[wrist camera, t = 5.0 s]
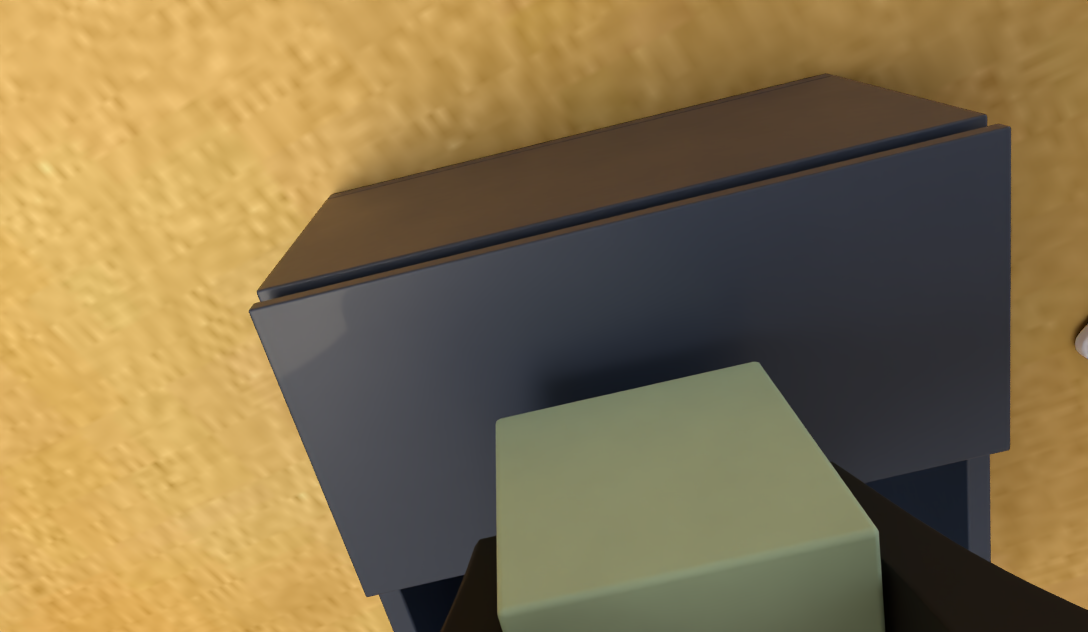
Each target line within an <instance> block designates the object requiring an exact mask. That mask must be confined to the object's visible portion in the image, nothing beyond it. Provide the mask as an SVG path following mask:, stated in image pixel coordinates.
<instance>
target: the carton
mask: <svg viewBox="0 0 1088 632" xmlns="http://www.w3.org/2000/svg"><path fill="white" fill-rule="evenodd" d="M1010 289H1011V127H1010V126H1006V125H1002V124H995V125H991V126H987V115H986V114H982V113H978V112H974V111H970V110H967V109H963V108H959V107H955V106H951V105H947V104H943V103H939V102H935V101H932V100H928V99H924V98H920V97H916V96H912V95H908V94H904V93H901V92H897V91H893V90H889V89H885V88H881V87H877V86H873V85H869V84H866V83H862V82H858V81H854V80H850V79H846V78H842V77H838V76H833V75H830V74H822V75H818V76H814V77H810V78H806V79H802V80H798V81H794V82H789V83H785V84H781V85H777V86H773V87H769V88H765V89H761V90H757V91H753V92H749V93H745V94H740V95H736V96H732V97H728V98H724V99H720V100H716V101H712V102H708V103H704V104H700V105H696V106H692V107H687V108H683V109H679V110H675V111H671V112H667V113H663V114H659V115H655V116H651V117H647V118H643V119H639V120H634V121H630V122H626V123H622V124H618V125H614V126H610V127H606V128H602V129H598V130H594V131H590V132H585V133H581V134H577V135H573V136H569V137H565V138H561V139H557V140H553V141H549V142H545V143H541V144H537V145H532V146H528V147H524V148H520V149H516V150H512V151H508V152H504V153H500V154H496V155H492V156H488V157H483V158H479V159H475V160H471V161H467V162H463V163H459V164H455V165H451V166H447V167H443V168H439V169H435V170H430V171H426V172H422V173H418V174H414V175H410V176H406V177H402V178H398V179H394V180H390V181H386V182H382V183H377V184H373V185H369V186H365V187H361V188H357V189H353V190H349V191H345V192H341V193H337V194H333V195H330V196H329V198H328V199H327V200H326V201H325V203H324V204H323V205H322V207H321V208H320V209H319V211H318V212H317V213H316V214H315V216H314V217H313V218H312V220H311V221H310V222H309V224H308V225H307V226H306V227H305V229H304V230H303V231H302V233H301V234H300V235H299V237H298V238H297V239H296V241H295V242H294V243H293V244H292V246H291V247H290V248H289V250H288V251H287V252H286V254H285V255H284V256H283V258H282V259H281V260H280V261H279V263H278V264H277V265H276V267H275V268H274V269H273V271H272V272H271V273H270V274H269V276H268V277H267V278H266V280H265V281H264V282H263V284H262V285H261V286H260V288H259V289H258V290H257V295H258V297H259V300H260V302H258V303H255V304H253V306H252V307H251V308H250V310H249V313H250V316H251V318H252V321H253V323H254V326H255V328H256V330H257V333H258V335H259V338H260V340H261V343H262V345H263V347H264V350H265V352H266V355H267V357H268V360H269V362H270V364H271V367H272V369H273V372H274V374H275V377H276V379H277V381H278V384H279V386H280V389H281V391H282V393H283V396H284V398H285V401H286V403H287V406H288V408H289V410H290V413H291V415H292V418H293V420H294V423H295V425H296V427H297V430H298V432H299V435H300V437H301V440H302V442H303V444H304V447H305V449H306V452H307V454H308V457H309V459H310V461H311V464H312V466H313V469H314V471H315V474H316V476H317V478H318V481H319V483H320V486H321V488H322V491H323V493H324V495H325V498H326V500H327V503H328V505H329V508H330V510H331V512H332V515H333V517H334V520H335V522H336V525H337V527H338V529H339V532H340V534H341V537H342V539H343V541H344V544H345V546H346V549H347V551H348V554H349V556H350V558H351V561H352V563H353V566H354V568H355V571H356V573H357V575H358V578H359V580H360V583H361V585H362V588H363V590H364V592H365V595H366V597H370V596H374V595H378V594H379V596H380V599H381V601H382V604H383V606H384V609H385V611H386V614H387V616H388V619H389V621H390V624H391V626H392V629H393V631H394V632H440V631H441V629H442V627H443V624H444V622H445V620H446V618H447V616H448V613H449V611H450V609H451V607H452V604H453V602H454V600H455V597H456V595H457V592H458V590H459V587H460V585H461V582H462V580H463V577H464V575H465V572H466V570H467V567H468V564H469V561H470V559H471V556H472V553H473V550H474V547H475V545H476V544H477V543H478V541H479V540H480V539H483V538H488V537H492V536H497V529H496V421H497V420H499V419H501V418H505V417H510V416H514V415H519V414H523V413H528V412H532V411H536V410H541V409H545V408H550V407H554V406H559V405H563V404H568V403H572V402H576V401H581V400H585V399H590V398H594V397H599V396H603V395H608V394H612V393H616V392H621V391H625V390H630V389H634V388H639V387H643V386H648V385H652V384H656V383H661V382H665V381H670V380H674V379H679V378H683V377H688V376H692V375H696V374H701V373H705V372H710V371H714V370H719V369H723V368H728V367H732V366H736V365H741V364H745V363H750V362H759V363H760V365H761V366H762V367H763V369H764V370H765V372H766V373H767V374H768V376H769V377H770V379H771V380H772V382H773V383H774V384H775V386H776V387H777V389H778V390H779V391H780V393H781V394H782V396H783V397H784V398H785V400H786V401H787V403H788V404H789V405H790V407H791V408H792V410H793V411H794V412H795V414H796V415H797V417H798V418H799V420H800V421H801V422H802V424H803V425H804V427H805V428H806V429H807V431H808V432H809V434H810V435H811V436H812V438H813V439H814V441H815V442H816V443H817V445H818V446H819V448H820V449H821V450H822V452H823V453H824V455H825V456H826V457H827V459H828V460H829V462H834V463H835V464H837V465H838V466H840V467H841V468H843V469H844V470H846V471H847V472H849V473H850V474H852V475H853V476H855V477H856V478H858V479H859V480H861V481H862V482H863V483H865V484H866V485H868V486H869V487H871V488H872V489H874V490H875V491H876V492H878V493H879V494H881V495H882V496H884V497H885V498H887V499H888V500H890V501H891V502H893V503H894V504H896V505H897V506H899V507H900V508H902V509H903V510H905V511H906V512H908V513H909V514H911V515H912V516H914V517H915V518H917V519H919V520H920V521H922V522H923V523H925V524H926V525H928V526H930V527H931V528H933V529H934V530H936V531H938V532H939V533H941V534H942V535H944V536H946V537H947V538H949V539H950V540H952V541H954V542H955V543H957V544H959V545H960V546H962V547H964V548H966V549H967V550H969V551H971V552H973V553H975V554H976V555H978V556H980V557H982V558H984V559H985V560H987V561H989V562H991V544H990V454H994V453H998V452H1003V451H1007V450H1010Z"/></svg>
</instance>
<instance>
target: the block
mask: <svg viewBox="0 0 1088 632" xmlns="http://www.w3.org/2000/svg"><path fill="white" fill-rule="evenodd" d="M496 529H497V615H498V618H499V622H500V625H501V628H502V631H503V632H885V618H884V603H883V588H882V573H881V558H880V543H879V531H878V529H877V528H876V526H875V525H874V524H873V522H872V521H871V519H870V518H869V517H868V515H867V514H866V512H865V511H864V510H863V508H862V507H861V505H860V504H859V502H858V501H857V500H856V498H855V497H854V495H853V494H852V493H851V491H850V490H849V488H848V487H847V486H846V484H845V483H844V481H843V480H842V479H841V477H840V476H839V474H838V473H837V472H836V470H835V469H834V467H833V466H832V465H831V463H830V462H829V460H828V459H827V457H826V456H825V455H824V453H823V452H822V450H821V449H820V448H819V446H818V445H817V443H816V442H815V441H814V439H813V438H812V436H811V435H810V434H809V432H808V431H807V429H806V428H805V427H804V425H803V424H802V422H801V421H800V420H799V418H798V417H797V415H796V414H795V412H794V411H793V410H792V408H791V407H790V405H789V404H788V403H787V401H786V400H785V398H784V397H783V396H782V394H781V393H780V391H779V390H778V389H777V387H776V386H775V384H774V383H773V382H772V380H771V379H770V377H769V376H768V374H767V373H766V372H765V370H764V369H763V367H762V366H761V365H760V363H759V362H750V363H745V364H741V365H736V366H732V367H728V368H723V369H719V370H714V371H710V372H705V373H701V374H696V375H692V376H688V377H683V378H679V379H674V380H670V381H665V382H661V383H656V384H652V385H648V386H643V387H639V388H634V389H630V390H625V391H621V392H616V393H612V394H608V395H603V396H599V397H594V398H590V399H585V400H581V401H576V402H572V403H568V404H563V405H559V406H554V407H550V408H545V409H541V410H536V411H532V412H528V413H523V414H519V415H514V416H510V417H505V418H501V419H499V420H497V421H496Z"/></svg>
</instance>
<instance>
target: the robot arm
mask: <svg viewBox="0 0 1088 632" xmlns="http://www.w3.org/2000/svg"><path fill="white" fill-rule="evenodd" d="M1075 348H1076V350H1077V351H1078V353H1079V354H1081V355H1082V356H1084V357H1085V358H1087V359H1088V324H1087V325H1086V326H1085V327H1084V329H1083V330H1082V331H1081V332H1080V333H1079V335H1078V336H1077V338H1076V341H1075ZM830 463H831V465H832V466H833V467H834V469H835V470H836V472H837V473H838V474H839V476H840V477H841V479H842V480H843V481H844V483H845V484H846V486H847V487H848V488H849V490H850V491H851V493H852V494H853V495H854V497H855V498H856V500H857V501H858V502H859V504H860V505H861V507H862V508H863V510H864V511H865V512H866V514H867V515H868V517H869V518H870V519H871V521H872V522H873V524H874V525H875V526H876V528H877V529H878V531H879V543H880V558H881V573H882V588H883V603H884V618H885V632H1088V610H1086V609H1084V608H1082V607H1079V606H1077V605H1075V604H1073V603H1071V602H1069V601H1067V600H1064V599H1062V598H1060V597H1058V596H1056V595H1054V594H1052V593H1050V592H1047V591H1045V590H1043V589H1041V588H1039V587H1037V586H1035V585H1033V584H1031V583H1029V582H1027V581H1025V580H1023V579H1021V578H1019V577H1017V576H1015V575H1013V574H1011V573H1009V572H1007V571H1005V570H1003V569H1002V568H1000V567H998V566H996V565H994V564H993V563H991V562H989V561H987V560H985V559H984V558H982V557H980V556H978V555H976V554H975V553H973V552H971V551H969V550H967V549H966V548H964V547H962V546H960V545H959V544H957V543H955V542H954V541H952V540H950V539H949V538H947V537H946V536H944V535H942V534H941V533H939V532H938V531H936V530H934V529H933V528H931V527H930V526H928V525H926V524H925V523H923V522H922V521H920V520H919V519H917V518H915V517H914V516H912V515H911V514H909V513H908V512H906V511H905V510H903V509H902V508H900V507H899V506H897V505H896V504H894V503H893V502H891V501H890V500H888V499H887V498H885V497H884V496H882V495H881V494H879V493H878V492H876V491H875V490H874V489H872V488H871V487H869V486H868V485H866V484H865V483H863V482H862V481H861V480H859V479H858V478H856V477H855V476H853V475H852V474H850V473H849V472H847V471H846V470H844V469H843V468H841V467H840V466H838V465H837V464H835V463H834V462H830ZM440 632H503V631H502V628H501V625H500V622H499V618H498V615H497V536H492V537H488V538H483V539H480V540H479V541H478V543H477V544H476V545H475V547H474V550H473V553H472V556H471V559H470V561H469V564H468V567H467V570H466V572H465V575H464V577H463V580H462V582H461V585H460V587H459V590H458V592H457V595H456V597H455V600H454V602H453V604H452V607H451V609H450V611H449V613H448V616H447V618H446V620H445V622H444V624H443V627H442V629H441V631H440Z"/></svg>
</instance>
